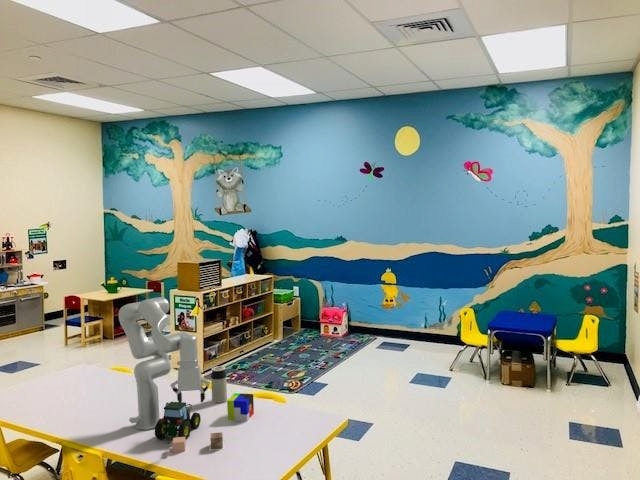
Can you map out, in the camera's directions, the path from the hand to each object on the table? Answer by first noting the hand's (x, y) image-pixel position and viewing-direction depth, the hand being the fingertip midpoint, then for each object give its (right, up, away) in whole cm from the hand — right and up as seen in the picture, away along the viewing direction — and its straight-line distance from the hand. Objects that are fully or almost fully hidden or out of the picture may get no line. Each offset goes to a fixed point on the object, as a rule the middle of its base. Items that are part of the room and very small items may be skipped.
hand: (191, 401), depth 232 cm
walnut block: (+12, -18, -3) cm, 22 cm away
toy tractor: (-9, -19, +12) cm, 24 cm away
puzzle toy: (+17, -17, +30) cm, 39 cm away
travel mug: (+3, -16, +52) cm, 54 cm away
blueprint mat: (+11, -19, -3) cm, 22 cm away
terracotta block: (-4, -20, -5) cm, 21 cm away
